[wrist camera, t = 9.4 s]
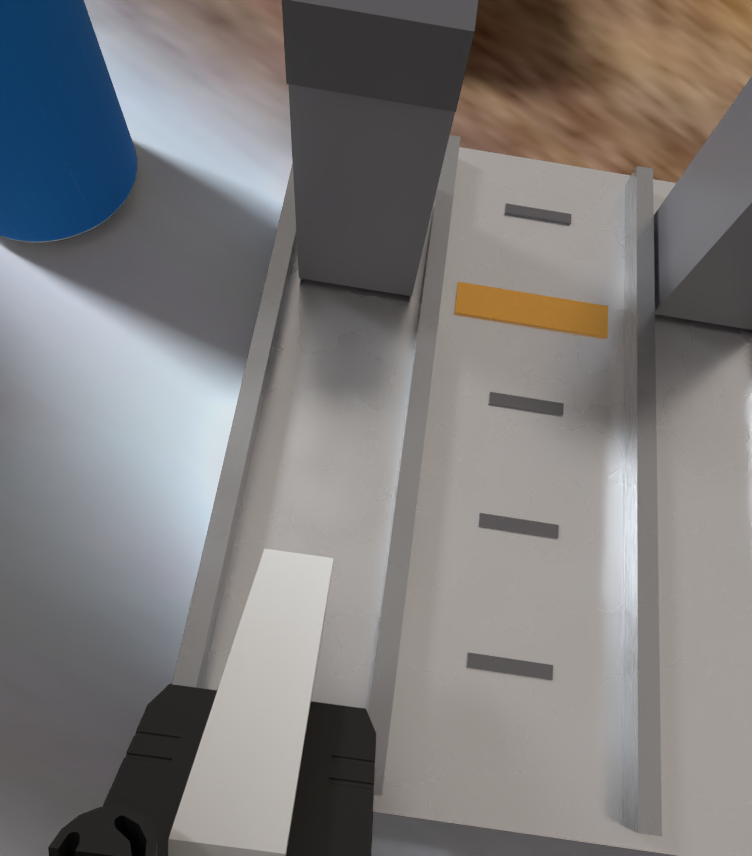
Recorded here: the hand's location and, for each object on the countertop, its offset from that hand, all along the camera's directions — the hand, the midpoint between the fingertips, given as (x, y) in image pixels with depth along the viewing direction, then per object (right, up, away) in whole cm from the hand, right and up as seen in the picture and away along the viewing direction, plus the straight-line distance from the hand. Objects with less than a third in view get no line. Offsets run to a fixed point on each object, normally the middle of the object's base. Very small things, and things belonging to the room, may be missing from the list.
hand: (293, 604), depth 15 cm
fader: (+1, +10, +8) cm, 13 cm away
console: (+6, +3, +8) cm, 11 cm away
